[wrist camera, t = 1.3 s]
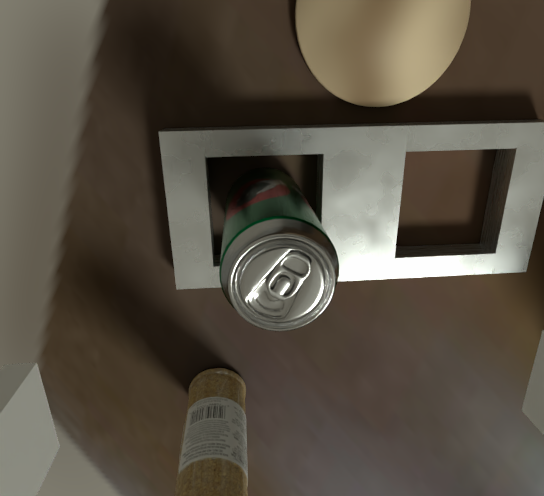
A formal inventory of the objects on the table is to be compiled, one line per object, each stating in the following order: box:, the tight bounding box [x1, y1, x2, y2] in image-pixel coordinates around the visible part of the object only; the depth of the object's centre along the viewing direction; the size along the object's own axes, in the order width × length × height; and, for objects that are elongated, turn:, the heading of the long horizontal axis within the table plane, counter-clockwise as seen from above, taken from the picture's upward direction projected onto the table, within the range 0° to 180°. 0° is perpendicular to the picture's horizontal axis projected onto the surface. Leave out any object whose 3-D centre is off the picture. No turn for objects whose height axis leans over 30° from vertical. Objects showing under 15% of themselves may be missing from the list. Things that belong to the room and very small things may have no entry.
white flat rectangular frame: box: [159, 119, 544, 289], centre depth 27 cm, size 24×10×2 cm, turn 91°
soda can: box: [219, 168, 339, 331], centre depth 22 cm, size 5×5×12 cm
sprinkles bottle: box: [175, 368, 248, 496], centre depth 26 cm, size 5×5×13 cm
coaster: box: [295, 0, 471, 107], centre depth 23 cm, size 10×10×1 cm
